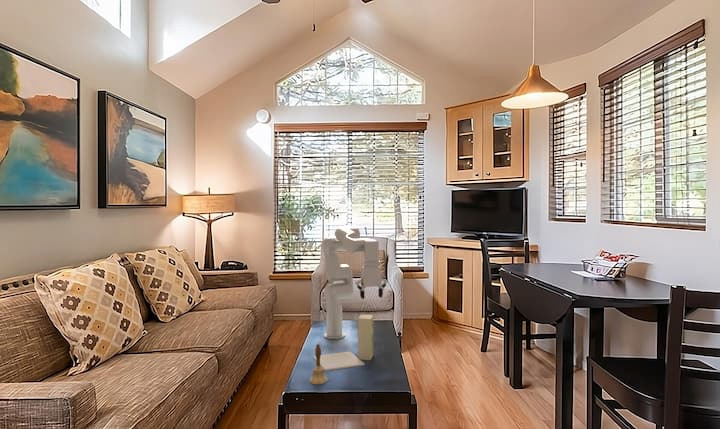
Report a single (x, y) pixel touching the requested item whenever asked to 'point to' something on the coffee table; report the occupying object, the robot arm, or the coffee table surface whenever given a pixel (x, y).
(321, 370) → the hand bell
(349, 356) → the sheet of paper
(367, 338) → the toy refrigerator
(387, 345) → the coffee table surface
